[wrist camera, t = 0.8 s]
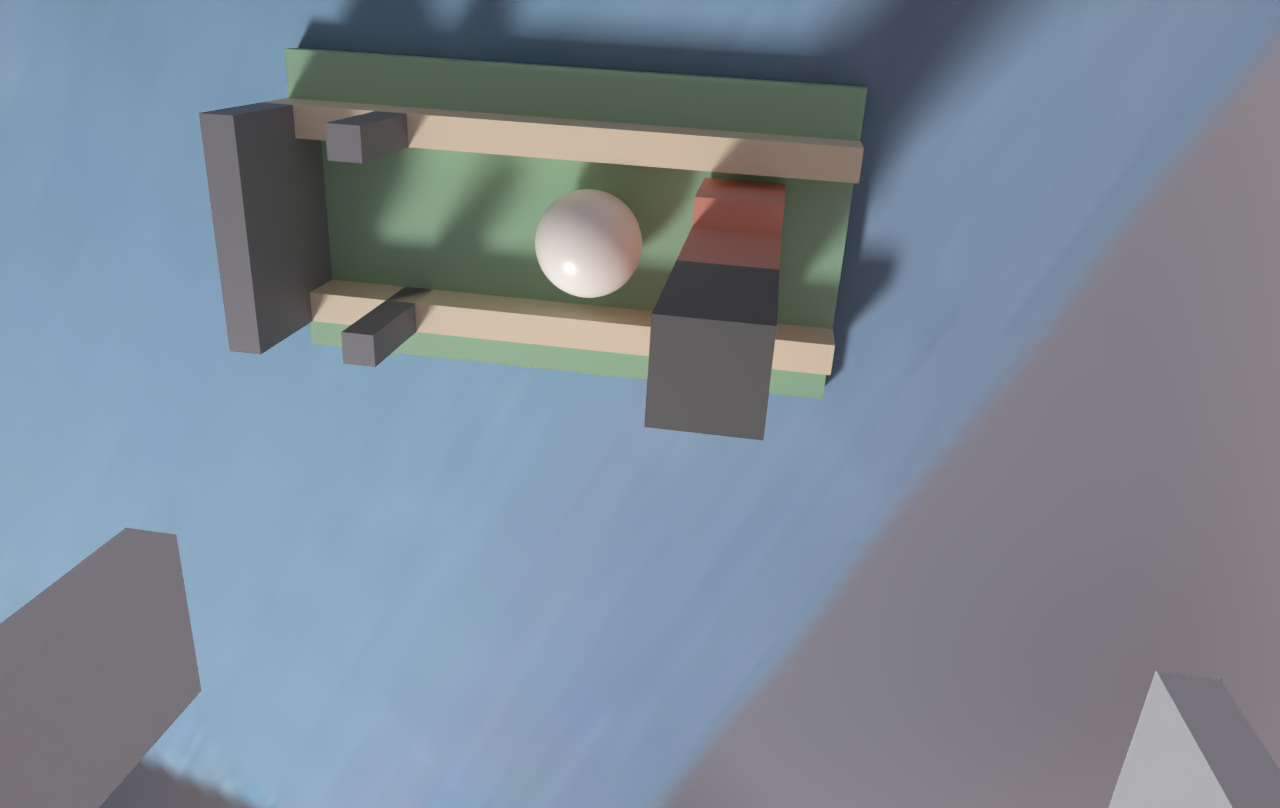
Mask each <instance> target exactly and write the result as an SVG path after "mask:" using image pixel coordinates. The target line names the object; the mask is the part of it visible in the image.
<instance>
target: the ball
mask: <svg viewBox="0 0 1280 808" xmlns="http://www.w3.org/2000/svg"><path fill="white" fill-rule="evenodd" d="M535 250H536V256H537V259H538V262H539V265H540V267H541V269H542V271H543V272H544V274H545V275H546V277H547V278H548V279H549V280H550V281H551V282H552V283H553V284H554V285H555V286H556V287H558V288H559V289H561V290H562V291H564V292H566V293H568V294H571V295H574V296H577V297H583V298H595V297H601V296H605V295H607V294H610V293H612V292H614V291H616V290H618V289H619V288H620V287H622V286H623V285H624V284H625V283H626V282H627V281H628V280H629V279H630V278H631V276H632V275H633V274H634V272H635V270H636V269H637V266H638V264H639V261H640V257H641V253H642V235H641V231H640V227H639V224H638V222H637V219H636V218H635V216H634V214H633V213H632V211H631V210H630V209H629V207H628V206H627V205H626V204H625V203H624V202H622V201H621V200H620V199H618V198H617V197H615V196H613V195H611V194H609V193H607V192H604V191H600V190H594V189H582V190H576V191H572V192H570V193H567V194H565V195H563V196H561V197H560V198H558V199H557V200H555V201H554V202H553V203H552V204H551V205H550V206H549V207H548V208H547V209H546V211H545V212H544V214H543V215H542V217H541V219H540V221H539V224H538V227H537V231H536V235H535Z"/></svg>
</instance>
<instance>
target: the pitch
mask: <svg viewBox="0 0 1280 808" xmlns="http://www.w3.org/2000/svg"><path fill="white" fill-rule="evenodd" d="M284 51H285V61H286V72H287V83H288V94H289V98H286V99H280V100H274V101H268V102H262V103H256V104H250V105H244V106H238V107H233V108H227V109H221V110H215V111H209V112H203V113H199V116H200V124H201V131H202V139H203V147H204V155H205V162H206V170H207V178H208V186H209V193H210V201H211V209H212V216H213V224H214V232H215V240H216V247H217V255H218V263H219V270H220V278H221V286H222V294H223V301H224V309H225V317H226V324H227V332H228V340H229V348H230V351H235V352H244V353H253V354H262V353H263V352H265V351H267V350H268V349H270V348H271V347H273V346H274V345H276V344H277V343H279V342H281V341H282V340H284V339H285V338H287V337H288V336H290V335H291V334H293V333H295V332H296V331H298V330H299V329H301V328H302V327H304V326H305V325H307V324H309V323H310V333H311V344H318V345H327V346H336V347H342V349H343V362H344V364H353V365H362V366H372V367H376V366H377V365H378V364H379V363H380V362H382V361H383V360H384V359H385V358H386V357H387V356H389V355H390V354H391V353H401V354H411V355H420V356H429V357H438V358H448V359H457V360H466V361H476V362H485V363H494V364H504V365H513V366H522V367H532V368H541V369H550V370H559V371H569V372H578V373H587V374H597V375H606V376H615V377H625V378H634V379H643V380H647V379H648V363H649V347H650V331H651V315H652V312H653V310H654V308H655V305H656V303H657V301H658V299H659V297H660V295H661V293H662V290H663V288H664V286H665V284H666V282H667V280H668V278H669V275H670V273H671V271H672V269H673V267H674V265H675V262H676V260H677V258H678V256H679V254H680V252H681V250H682V247H683V245H684V243H685V241H686V239H687V237H688V235H689V232H690V230H691V228H692V224H693V211H694V198H695V195H696V193H697V191H698V189H699V188H700V186H701V184H702V182H703V180H704V178H705V177H706V178H718V179H730V180H743V181H755V182H767V183H780V184H785V206H784V214H783V223H782V231H781V248H780V269H779V290H778V311H777V329H776V337H775V345H774V354H773V362H772V370H771V379H770V387H769V393H773V394H783V395H792V396H801V397H811V398H820V399H823V393H824V386H825V379H826V375H831V369H832V363H833V356H834V349H835V342H834V334H833V324H834V317H835V311H836V304H837V297H838V290H839V283H840V276H841V269H842V262H843V256H844V249H845V242H846V235H847V228H848V221H849V214H850V207H851V200H852V194H853V187H854V183H858V184H859V179H860V173H861V166H862V159H863V152H864V147H863V145H862V143H861V142H860V138H861V132H862V125H863V118H864V111H865V104H866V97H867V90H868V89H867V88H866V87H863V86H848V85H833V84H819V83H804V82H790V81H775V80H760V79H746V78H731V77H716V76H702V75H687V74H672V73H658V72H643V71H629V70H614V69H599V68H585V67H570V66H555V65H541V64H526V63H511V62H497V61H482V60H467V59H453V58H438V57H424V56H409V55H394V54H380V53H365V52H350V51H336V50H321V49H306V48H288V49H284ZM582 189H594V190H600V191H604V192H607V193H609V194H611V195H613V196H615V197H617V198H618V199H620V200H621V201H622V202H624V203H625V204H626V205H627V206H628V207H629V209H630V210H631V211H632V213H633V214H634V216H635V218H636V219H637V222H638V224H639V227H640V231H641V235H642V253H641V257H640V261H639V264H638V266H637V269H636V270H635V272H634V274H633V275H632V276H631V278H630V279H629V280H628V281H627V282H626V283H625V284H624V285H623V286H622V287H620V288H619V289H618V290H616V291H614V292H612V293H610V294H607V295H605V296H601V297H595V298H583V297H577V296H574V295H571V294H568V293H566V292H564V291H562V290H561V289H559V288H558V287H556V286H555V285H554V284H553V283H552V282H551V281H550V280H549V279H548V278H547V277H546V275H545V274H544V272H543V271H542V269H541V267H540V265H539V262H538V259H537V256H536V250H535V235H536V231H537V227H538V224H539V221H540V219H541V217H542V215H543V214H544V212H545V211H546V209H547V208H548V207H549V206H550V205H551V204H552V203H553V202H554V201H555V200H557V199H558V198H560V197H561V196H563V195H565V194H567V193H570V192H572V191H576V190H582Z"/></svg>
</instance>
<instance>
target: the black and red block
mask: <svg viewBox="0 0 1280 808" xmlns="http://www.w3.org/2000/svg"><path fill="white" fill-rule="evenodd" d="M784 206H785V184H780V183H767V182H755V181H743V180H730V179H718V178H706V177H705V178H704V180H703V182H702V184H701V186H700V188H699V189H698V191H697V193H696V195H695V198H694V211H693V224H692V228H691V230H690V232H689V235H688V237H687V239H686V241H685V243H684V245H683V247H682V250H681V252H680V254H679V256H678V258H677V260H676V262H675V265H674V267H673V269H672V271H671V273H670V275H669V278H668V280H667V282H666V284H665V286H664V288H663V290H662V293H661V295H660V297H659V299H658V301H657V303H656V305H655V308H654V310H653V312H652V315H651V331H650V347H649V363H648V379H647V395H646V411H645V427H650V428H659V429H668V430H677V431H686V432H694V433H703V434H712V435H721V436H730V437H738V438H747V439H756V440H763V437H764V429H765V421H766V412H767V404H768V396H769V387H770V379H771V370H772V362H773V354H774V345H775V337H776V329H777V311H778V290H779V269H780V248H781V231H782V223H783V214H784Z"/></svg>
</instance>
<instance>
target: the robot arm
mask: <svg viewBox="0 0 1280 808" xmlns="http://www.w3.org/2000/svg"><path fill="white" fill-rule="evenodd" d="M200 691H201V685H200V679H199V673H198V667H197V660H196V654H195V648H194V642H193V636H192V629H191V623H190V617H189V611H188V605H187V599H186V592H185V586H184V580H183V574H182V568H181V561H180V555H179V549H178V543H177V537H176V535H174V534H167V533H160V532H153V531H145V530H138V529H131V528H125V529H124V530H123V531H121V532H120V533H119V534H117V535H116V536H115V537H113V538H112V539H111V540H109V541H108V542H107V543H106V544H104V545H103V546H102V547H100V548H99V549H98V550H96V551H95V552H94V553H92V554H91V555H90V556H89V557H87V558H86V559H85V560H83V561H82V562H81V563H79V564H78V565H77V566H75V567H74V568H73V569H72V570H70V571H69V572H68V573H66V574H65V575H64V576H62V577H61V578H60V579H58V580H57V581H56V582H55V583H53V584H52V585H51V586H49V587H48V588H47V589H45V590H44V591H43V592H41V593H40V594H39V595H38V596H36V597H35V598H34V599H32V600H31V601H30V602H28V603H27V604H26V605H24V606H23V607H22V608H21V609H19V610H18V611H17V612H15V613H14V614H13V615H11V616H10V617H9V618H7V619H6V620H5V621H4V622H2V623H1V624H0V808H98V807H99V806H100V805H101V804H102V803H103V802H104V800H106V798H107V797H108V796H109V795H110V794H111V792H113V790H114V789H115V788H116V787H117V786H118V785H119V784H120V782H121V781H122V780H123V779H124V778H125V777H126V776H127V775H128V773H129V772H130V771H131V770H132V769H133V768H134V767H135V765H136V764H137V763H138V762H139V761H140V760H141V759H142V757H143V756H144V755H145V754H146V753H147V752H148V751H149V749H150V748H151V747H152V746H153V745H154V744H155V743H156V742H157V740H158V739H159V738H160V737H161V736H162V735H163V734H164V732H165V731H166V730H167V729H168V728H169V727H170V726H171V724H172V723H173V722H174V721H175V720H176V719H177V718H178V716H179V715H180V714H181V713H182V712H183V711H184V710H185V709H186V707H187V706H188V705H189V704H190V703H191V702H192V701H193V699H194V698H195V697H196V696H197V695H198V694H199V693H200ZM1109 808H1280V769H1279V768H1278V766H1277V765H1276V763H1275V761H1274V760H1273V758H1272V757H1271V755H1270V754H1269V752H1268V751H1267V749H1266V748H1265V746H1264V744H1263V743H1262V741H1261V740H1260V738H1259V737H1258V735H1257V734H1256V732H1255V731H1254V729H1253V728H1252V726H1251V724H1250V723H1249V721H1248V720H1247V718H1246V717H1245V715H1244V714H1243V712H1242V711H1241V709H1240V708H1239V706H1238V704H1237V703H1236V701H1235V700H1234V698H1233V697H1232V695H1231V694H1230V692H1229V691H1228V689H1227V687H1226V686H1225V684H1224V683H1223V682H1222V680H1221V679H1214V678H1207V677H1199V676H1193V675H1185V674H1178V673H1171V672H1164V671H1156V672H1155V675H1154V678H1153V681H1152V684H1151V686H1150V690H1149V692H1148V695H1147V698H1146V701H1145V704H1144V707H1143V710H1142V712H1141V715H1140V718H1139V722H1138V724H1137V727H1136V730H1135V733H1134V736H1133V739H1132V741H1131V744H1130V747H1129V750H1128V753H1127V756H1126V759H1125V762H1124V765H1123V767H1122V770H1121V773H1120V776H1119V779H1118V782H1117V785H1116V788H1115V791H1114V794H1113V797H1112V799H1111V802H1110V805H1109Z"/></svg>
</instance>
